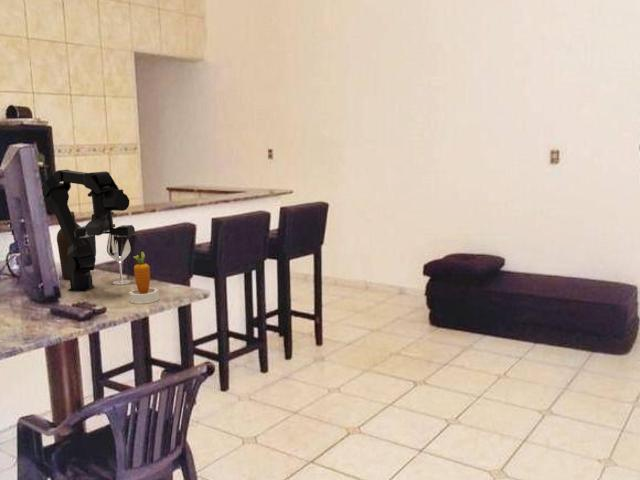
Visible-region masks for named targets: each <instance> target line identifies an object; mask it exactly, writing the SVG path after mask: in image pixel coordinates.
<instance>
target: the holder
mask: <svg viewBox="0 0 640 480" xmlns="http://www.w3.org/2000/svg"><path fill="white" fill-rule="evenodd" d="M128 297H129V298H128V299H129V302H130V303H131V304H134V305H143V304H144V305H145V304H151V303H155V302H157V301H159V299H160V291H159V289H158V288H156V287H149V290H148V293H147V294H140V293H139V291H138V288H135V289H132V290H131V291H129V292H128Z"/></svg>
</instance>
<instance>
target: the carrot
mask: <svg viewBox="0 0 640 480" xmlns="http://www.w3.org/2000/svg"><path fill="white" fill-rule="evenodd" d="M140 255H141V256H139V255H136V256H134V255H133V256H132V257H133V259H135V260H136V261H137V264H134V267H133V272H134V279H135V284H136V289H138V291H139V293H140V294H147V293H148V290H149V288H150V282H151V269H150V268H151V267H150V265H149V264H148V263H144V262H145V258H146V255H145V252H144V251H141V253H140ZM140 257H141V258H140Z"/></svg>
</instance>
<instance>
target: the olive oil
mask: <svg viewBox="0 0 640 480" xmlns="http://www.w3.org/2000/svg"><path fill="white" fill-rule="evenodd" d="M70 212H71V214H72V217H73V219H74V222H75V224H76V226H77V228H79V227H82V226H81V225H80V224H78V223H77V222H76V217H75V216H76V215H75V211H70ZM82 241H83V240H82ZM83 242H84V241H83ZM56 243H57V250H58V256H59V262H60V269H61V279H63V280H66V281H70V276H69V274H65V271H64V266H65V265H66V263H67V262H68V258H67V253H68V248H69V247H68V244H67V242H66V240H65V237H64V235H63V232H62V230H61V228H60V229H59V230H58V231H57V233H56ZM84 243H85V242H84ZM85 244H86V243H85Z"/></svg>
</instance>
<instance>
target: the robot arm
mask: <svg viewBox="0 0 640 480" xmlns="http://www.w3.org/2000/svg"><path fill="white" fill-rule="evenodd" d="M71 184H76V185H81V186H84V187H85V188H86V189H88V190H89V191H90V192H88V194H87V197H89V198H90V197H91V200H92V201H91V202H92V210H93V214H91V216H90V217H91V220H90V221H88V223H86V225H83V226H81V227H79V228H77V226H76V224H75V222H76V221H75V222H74V219H73V217H72V214H71V212H72V211H71V210H70V208H69V205H68V203H69V198H70V195H69V191H70V190H71V188H72V185H71ZM41 187H42V189H43V196H44V200H43V201H45V202H44V203H45V205H47V206H48V207H49V208H50V209H52V210H53V212H54V215H55V217H56V220H57V222H58V223H57V224H58V226H59V228H60V229H61V230H62V232H63V235H64V237H65V240H66V242H67V244H68V247H69V248H68V253H67V258H68V262H67V263H66V265H65V266H64V271H65V274H69V276H70V280H69V285H70V288H68V289H67V290H68V292H87V291H88V290H90V289H92V288H94V287H95V285H94V284H93V275H92V274H91V271H94V270H95V266H96V262H97V261H96V260H97V259H96V257H97V246H96V236H98V237H99V236H101V235H105V234H107V235H109V234H114V233H116V234H117V235H118V237H116V239H117V241H118V253H119V257H120V256H122V253H123V250H124V247H125V244H126V242H127V239H128V240H129V237H132V235H134V234H136V231H135V230H136V229H135V227H134V225H133V224H125V225H124V224H123V225H120V226H117V227H116V224H115V223H114V219H113V216H114V215H115V213H114V211H116V212H117V211H118V212H120V211H121V212H122V211H123V212H124V211H126V210H128V208H129V206H130V198H129V197H128V195H127V194H126V193H124V189H119V187H118V185H117V183H116V182H115V180H114V178H113V177H112V175H111V174H110V172H109V171H105V170H104V171H96V172H84V171H77V170H70V169H60V170H56V171H54V173H53V175H52V176H51V177H49V178H48V179H46V180H45V181H44V183H42V185H41ZM82 240H83V241H84V242H85V243H86V244H85V243H84V242H83V241H82Z"/></svg>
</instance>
